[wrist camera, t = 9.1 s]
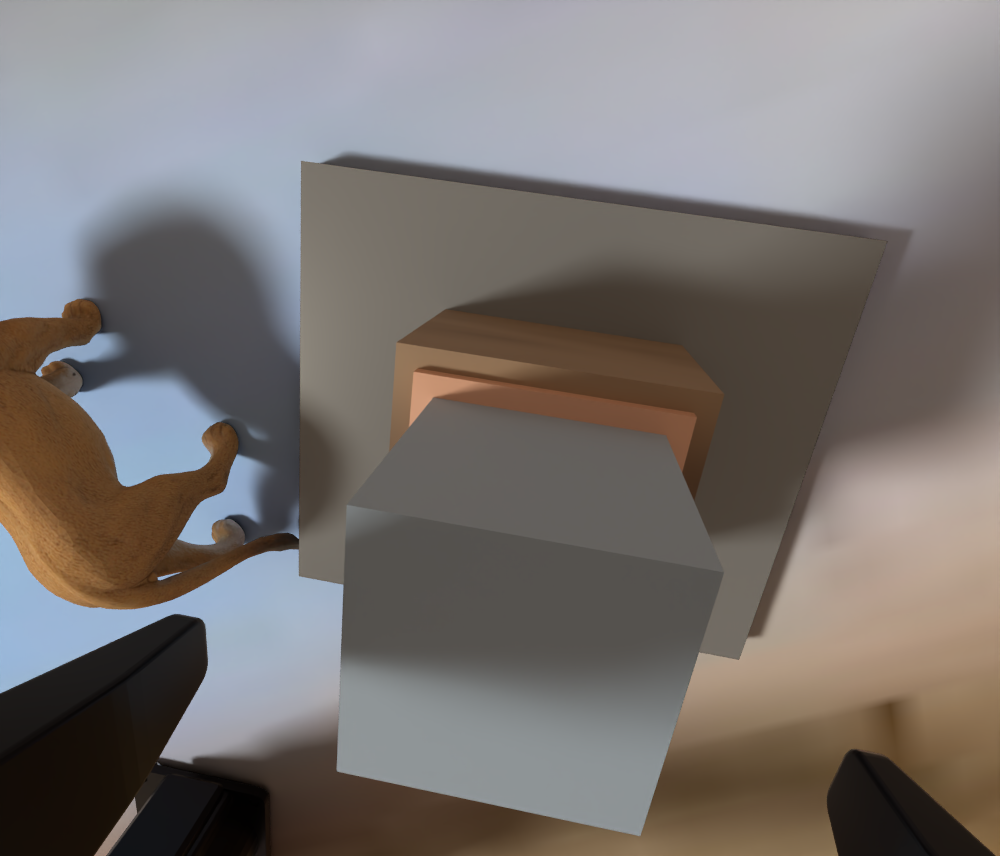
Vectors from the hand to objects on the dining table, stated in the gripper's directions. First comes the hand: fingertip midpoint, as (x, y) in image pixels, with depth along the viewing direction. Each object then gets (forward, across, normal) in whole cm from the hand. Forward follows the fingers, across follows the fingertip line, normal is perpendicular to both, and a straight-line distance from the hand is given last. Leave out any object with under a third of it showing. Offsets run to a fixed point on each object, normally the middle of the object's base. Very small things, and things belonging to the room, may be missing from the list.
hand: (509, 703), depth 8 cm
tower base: (+12, 0, 0) cm, 12 cm away
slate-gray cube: (+5, 0, 0) cm, 5 cm away
